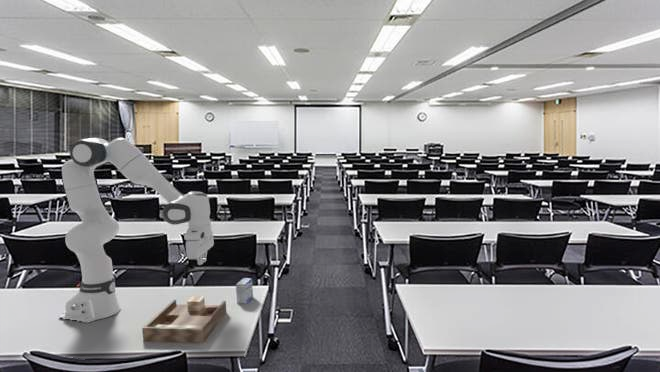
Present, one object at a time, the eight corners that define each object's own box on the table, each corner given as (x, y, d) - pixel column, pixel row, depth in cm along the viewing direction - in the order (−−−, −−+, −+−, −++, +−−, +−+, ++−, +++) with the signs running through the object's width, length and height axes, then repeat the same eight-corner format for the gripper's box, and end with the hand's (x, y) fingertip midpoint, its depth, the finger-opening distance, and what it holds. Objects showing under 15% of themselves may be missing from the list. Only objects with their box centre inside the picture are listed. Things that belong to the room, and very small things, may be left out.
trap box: (143, 341, 156) (142, 327, 156) (174, 311, 181) (173, 299, 180) (202, 343, 154) (202, 329, 153) (226, 312, 179) (225, 300, 178)
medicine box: (246, 304, 187) (245, 284, 186) (236, 303, 188) (235, 284, 187) (253, 296, 195) (252, 278, 193) (243, 296, 195) (242, 277, 194)
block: (187, 311, 174) (187, 301, 173) (192, 305, 179) (192, 296, 178) (200, 311, 173) (199, 301, 173) (204, 306, 178) (204, 296, 178)
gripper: (202, 224, 191) (204, 255, 193) (182, 237, 170) (184, 271, 172) (216, 224, 190) (218, 255, 192) (197, 237, 170) (200, 271, 172)
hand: (202, 263), depth 182 cm, fingers open, 2 cm apart
